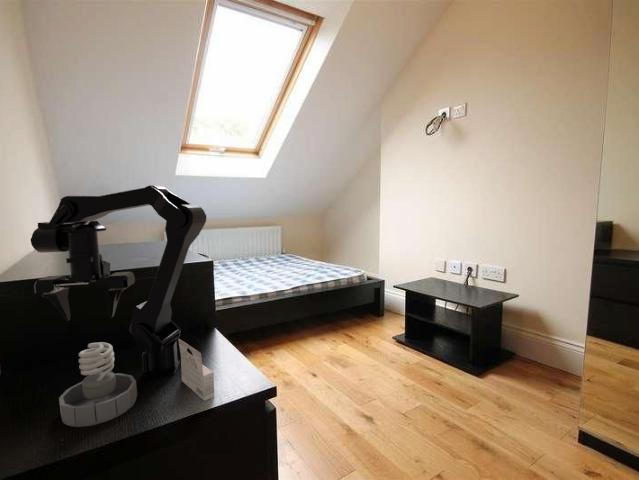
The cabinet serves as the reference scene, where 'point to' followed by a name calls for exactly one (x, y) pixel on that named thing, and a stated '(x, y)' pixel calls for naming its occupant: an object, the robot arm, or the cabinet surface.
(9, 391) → the cabinet surface
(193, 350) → the ink cartridge box
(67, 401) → the bowl
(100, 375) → the light bulb
